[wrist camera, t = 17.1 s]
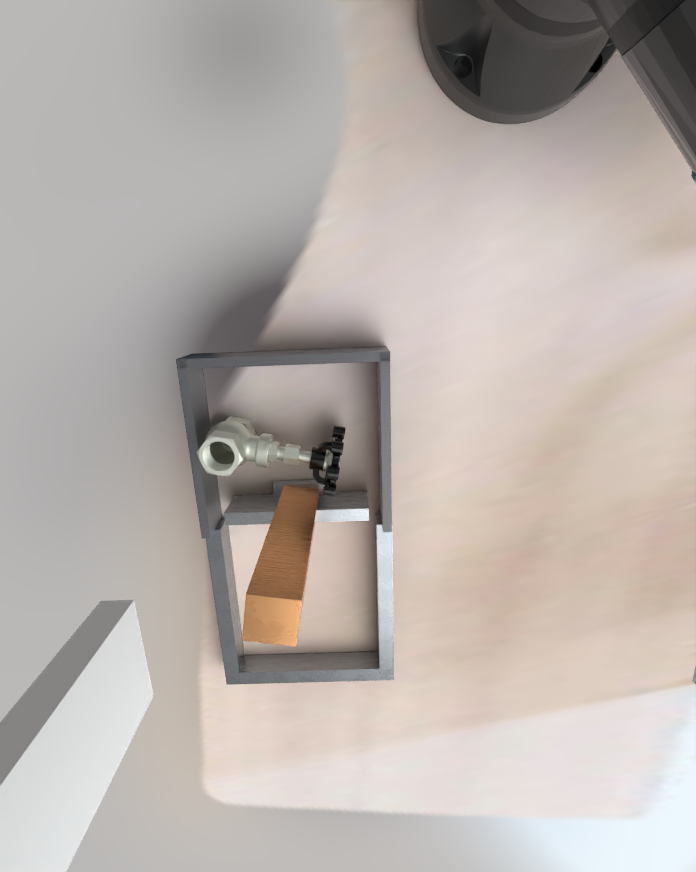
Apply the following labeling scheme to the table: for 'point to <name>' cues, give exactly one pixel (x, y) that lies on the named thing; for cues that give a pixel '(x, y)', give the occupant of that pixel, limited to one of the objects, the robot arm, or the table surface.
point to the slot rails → (306, 664)
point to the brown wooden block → (286, 551)
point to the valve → (267, 451)
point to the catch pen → (194, 364)
